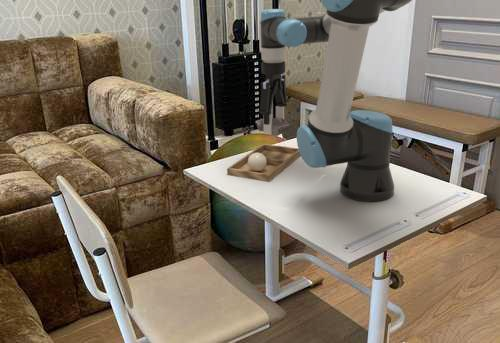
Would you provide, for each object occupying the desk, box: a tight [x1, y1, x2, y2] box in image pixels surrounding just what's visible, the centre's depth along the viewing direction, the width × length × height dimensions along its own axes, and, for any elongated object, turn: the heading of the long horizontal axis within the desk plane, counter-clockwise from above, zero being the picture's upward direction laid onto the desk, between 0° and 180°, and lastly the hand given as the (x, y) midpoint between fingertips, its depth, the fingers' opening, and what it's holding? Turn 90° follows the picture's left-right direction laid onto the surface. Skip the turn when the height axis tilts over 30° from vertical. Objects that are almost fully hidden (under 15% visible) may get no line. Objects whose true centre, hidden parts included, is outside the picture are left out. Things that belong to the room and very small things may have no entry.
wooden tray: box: [226, 143, 301, 183], centre depth 163 cm, size 15×26×3 cm, turn 152°
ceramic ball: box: [248, 153, 267, 171], centre depth 157 cm, size 6×6×6 cm
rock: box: [256, 117, 292, 137], centre depth 165 cm, size 8×11×5 cm
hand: (274, 129), depth 165 cm, fingers closed on rock, 9 cm apart
